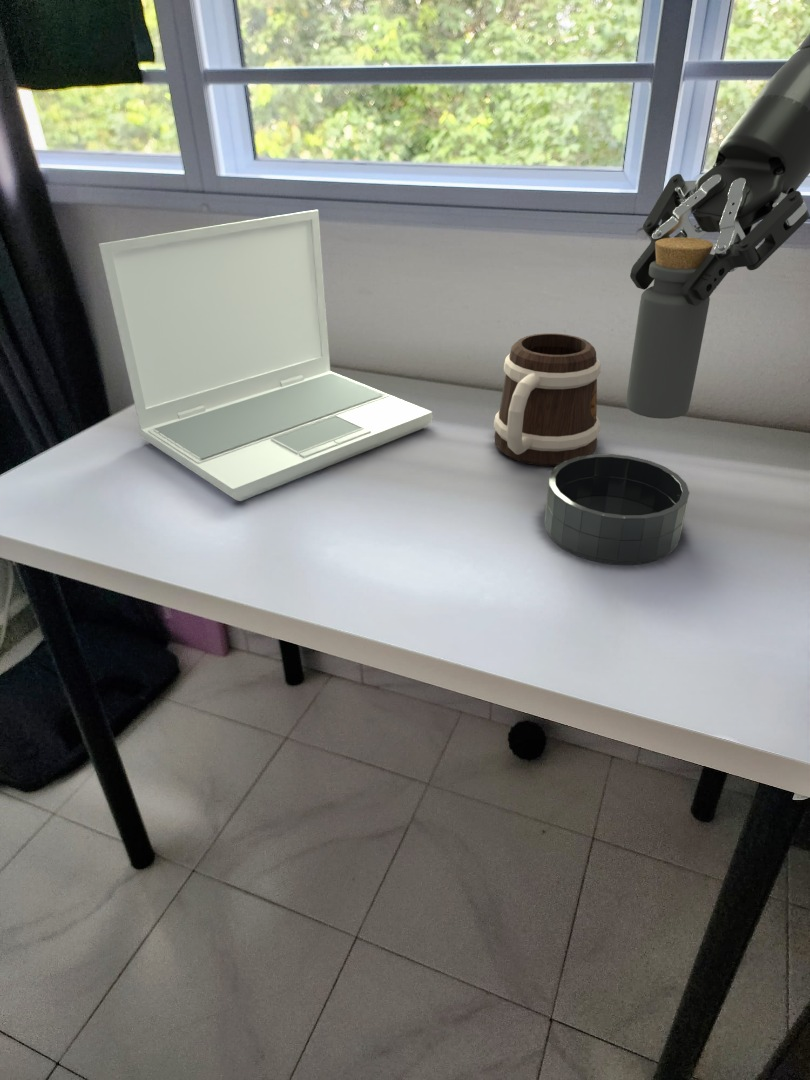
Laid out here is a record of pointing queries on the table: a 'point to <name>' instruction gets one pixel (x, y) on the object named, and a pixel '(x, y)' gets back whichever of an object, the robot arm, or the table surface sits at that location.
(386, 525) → the table surface
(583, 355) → the mug
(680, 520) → the pot
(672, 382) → the bottle
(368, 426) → the laptop
